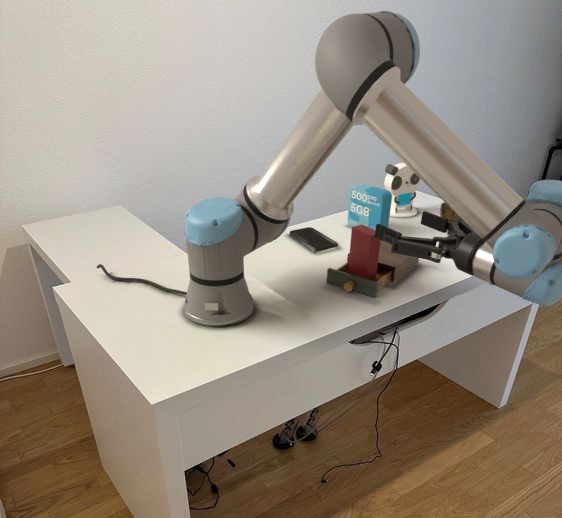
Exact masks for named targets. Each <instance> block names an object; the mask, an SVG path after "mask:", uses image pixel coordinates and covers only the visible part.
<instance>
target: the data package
mask: <svg viewBox="0 0 562 518" xmlns="http://www.w3.org/2000/svg"><path fill="white" fill-rule="evenodd" d="M391 202H392V194H391V192H390V191H387V190H386V189H385V188H384V189H383V188H380V187H376V186H373V185H369V184H366V183H361V184H358V185H355V186H352V187H351V188H350V190H349V200H348V210H347V211H348V212H347V224H348V226H349V227H351V228H352V227H354V226H358V225H365V226H367V227H369V228H371V229H374V230H376V224H381V225H383V226H385V227H388V228H389V224H390V217H391V216H390V209H391Z"/></svg>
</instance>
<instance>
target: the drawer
mask: <svg viewBox="0 0 562 518" xmlns="http://www.w3.org/2000/svg"><path fill="white" fill-rule="evenodd" d="M348 266H349V261H348V262H347V261H346V262H345V263H344V264H341V266H340V267H337V268H336V269H335V268H332V267H328V268H327V269H326V284H327V285H331V286H334V287H336V288H341V289H343V290H344V291H345V292H347V293H351V292H354V293H356V294H360V295H364V296H367V297H369V298H373V299H376V298H377V297H378V293H379V292H380V291H382V289H383V288H385V287H386V286H387V285H389V283H392V277H393V270H394V268H390V267H387V266H383V265H379V264H378V266H377V274H376V281H373V280H370V279H367V278H363V277H360V276H356V275H353V274H349V273H348Z"/></svg>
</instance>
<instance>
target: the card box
mask: <svg viewBox="0 0 562 518" xmlns="http://www.w3.org/2000/svg"><path fill="white" fill-rule="evenodd" d="M380 241H381V240H380V239H377V238H375V230H374V229H371V228H369V227H367V226H365V225H358V226H354V227H351V233H350V243H349V244H350V245H349V253H350V254H349V253H348V254H349V266H348V273H349V274H353V275H356V276H360V277H363V278H367V279H370V280H373V281H376V274H377V266H378V258H379V250H380Z"/></svg>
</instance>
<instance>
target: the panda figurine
mask: <svg viewBox="0 0 562 518" xmlns="http://www.w3.org/2000/svg"><path fill="white" fill-rule="evenodd" d="M384 171H385V173H386V176H385V177H384V183H383V184H384V186H383V187H384V189H385V190H387V191H390V192H391V194H392V202H391V209H390V217H394V218H411V217H414V216H416V215H418V210H417V208H415V207H413V202H414V200H415V198H416V197H417V192H416V191H417V189H418V187H419V186H420V183H421V179H420V178H419V177H418V176H417V175H416V174H415V173H414V172H413V171H412V170H411V169H410V168H409V167H408V166H407V165H406V164H405V163H404V162H399V163H396V164H391V163H388V164H387V165H386V166H385V169H384Z"/></svg>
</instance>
